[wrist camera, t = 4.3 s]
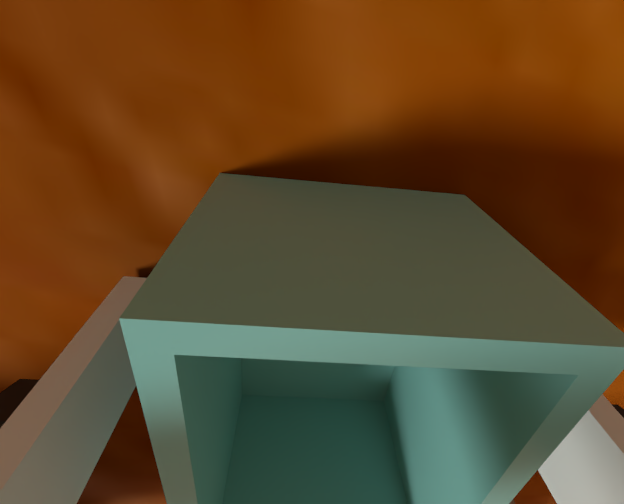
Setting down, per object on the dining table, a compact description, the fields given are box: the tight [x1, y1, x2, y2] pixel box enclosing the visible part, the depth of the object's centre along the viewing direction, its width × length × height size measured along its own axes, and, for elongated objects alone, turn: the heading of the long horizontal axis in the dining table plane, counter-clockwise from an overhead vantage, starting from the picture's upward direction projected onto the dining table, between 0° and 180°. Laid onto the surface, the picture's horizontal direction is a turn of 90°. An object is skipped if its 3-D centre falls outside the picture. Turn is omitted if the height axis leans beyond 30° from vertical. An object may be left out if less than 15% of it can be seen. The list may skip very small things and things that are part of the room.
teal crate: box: [119, 173, 624, 504], centre depth 9 cm, size 10×7×6 cm
